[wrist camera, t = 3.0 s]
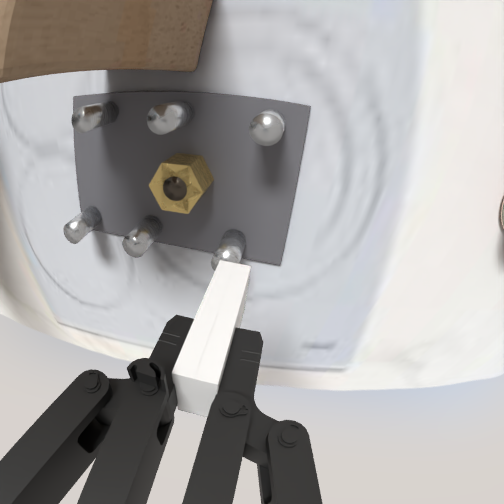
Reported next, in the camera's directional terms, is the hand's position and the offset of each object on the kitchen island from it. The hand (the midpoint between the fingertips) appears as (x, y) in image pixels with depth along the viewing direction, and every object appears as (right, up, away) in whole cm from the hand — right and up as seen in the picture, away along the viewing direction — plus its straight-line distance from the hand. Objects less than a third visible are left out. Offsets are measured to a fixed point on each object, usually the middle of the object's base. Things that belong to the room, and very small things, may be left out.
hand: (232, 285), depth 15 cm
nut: (-5, +9, +12) cm, 16 cm away
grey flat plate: (-7, +9, +13) cm, 17 cm away
